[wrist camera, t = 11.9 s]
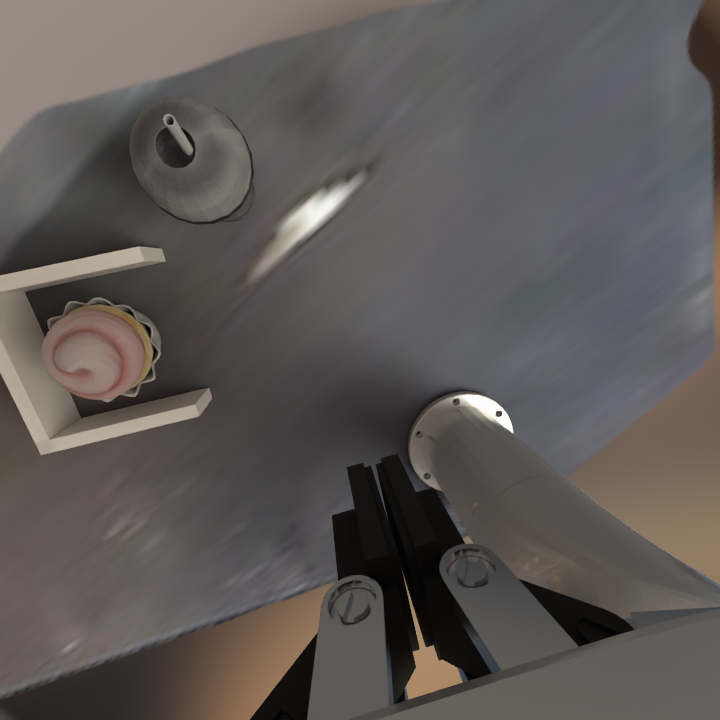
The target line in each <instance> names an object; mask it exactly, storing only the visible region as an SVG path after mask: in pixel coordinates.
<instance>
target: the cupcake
mask: <svg viewBox="0 0 720 720" xmlns="http://www.w3.org/2000/svg"><path fill="white" fill-rule="evenodd" d="M47 325H48V328H49V331H48V333H47V335H46V337H45V339H44V341H43V344H42V348H41V352H42V358H43V363H44V366H45V369H46V371H47V373H48V374H49V375H50V376H51V377H52V378H53V379H54V380H55V381H56V382H58V383H59V384H60V385H61V386H63V387H64V388H65V389H66V390H68V391H69V392H71V393H73V394H75V395H77V396H80V397H84V398H88V399H94V400H103V401H105V402H110V401H112V400H113V399H114V398H116V397H117V396H118V395H124V396H129V397H136V395H137V394H138V392H139V389H140V386H141V384H143V383H147V382H151V381H153V380H155V377H156V375H155V367H154V365H155V363H156V361H157V360H158V359H159V357H160V355H161V352H160V351H161V337H160V333H159V331H158V329H157V327H156V326H155V324H154V323H153V322H152V321H151V319H149V318H148V317H147V316H145V315H144V314H142V313H140V312H138V311H136V310H134V309H132V308H131V307H130V306H127V305H115V304H113V303H111V302H110V301H108V300H106V299H103V298H100V297H99V298H93V299H91V300H90V301H89V302H88V303H86V304H85V303H81V302H77V301H69V302H68V303H67V305H66V306H65V309H64V313H63V315H61V316H57V317H53V318H50V319H48V320H47Z"/></svg>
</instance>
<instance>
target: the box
mask: <svg viewBox="0 0 720 720" xmlns="http://www.w3.org/2000/svg"><path fill="white" fill-rule="evenodd" d="M162 262H166V260H165V257H164V254H163V251H162V249H160V248H150V247H140V246H139V247H134V248H129V249H124V250H119V251H115V252H110V253H105V254H100V255H96V256H91V257H86V258H81V259H77V260H72V261H67V262H62V263H57V264H53V265H48V266H43V267H38V268H34V269H29V270H24V271H19V272H14V273H10V274H5V275H0V373H1V375H2V377H3V379H4V381H5V383H6V385H7V387H8V389H9V391H10V393H11V395H12V397H13V399H14V401H15V403H16V405H17V407H18V409H19V411H20V414H21V416H22V418H23V420H24V422H25V424H26V426H27V428H28V430H29V432H30V434H31V436H32V438H33V440H34V442H35V444H36V446H37V448H38V450H39V452H40V454H41V455H44V454H48V453H52V452H56V451H60V450H64V449H68V448H72V447H77V446H81V445H85V444H89V443H93V442H97V441H101V440H105V439H109V438H113V437H117V436H121V435H125V434H130V433H134V432H138V431H142V430H146V429H150V428H154V427H158V426H162V425H166V424H170V423H174V422H178V421H183V420H187V419H191V418H195V417H199V416H200V415H201V413H202V412H203V411H204V409H205V408H206V406H207V405H208V404H209V402H210V401H211V399H212V395H211V392H210V389H209V388H205V389H200V390H196V391H192V392H188V393H184V394H180V395H175V396H171V397H167V398H163V399H159V400H155V401H150V402H146V403H142V404H138V405H134V406H130V407H125V408H121V409H117V410H113V411H109V412H105V413H100V414H96V415H92V416H88V417H84V418H81V416H80V414H79V412H78V410H77V407H76V405H75V403H74V401H73V398H72V396H71V394H70V392H69V391H68V390H66V389H65V388H64V387H63V386H61V385H60V384H59V383H58V382H56V381H55V380H54V379H53V378H52V377H51V376H50V375H49V374H48V373H47V371H46V369H45V366H44V363H43V358H42V352H41V348H42V344H43V341H44V339H45V336H44V334H43V332H42V329H41V327H40V325H39V323H38V320H37V318H36V316H35V314H34V312H33V309H32V307H31V305H30V303H29V300H28V298H27V296H26V294H25V292H26V291H31V290H35V289H40V288H45V287H49V286H54V285H59V284H63V283H68V282H73V281H77V280H82V279H87V278H91V277H96V276H101V275H105V274H110V273H115V272H119V271H124V270H129V269H134V268H138V267H143V266H148V265H152V264H157V263H162Z"/></svg>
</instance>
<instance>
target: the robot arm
mask: <svg viewBox="0 0 720 720" xmlns="http://www.w3.org/2000/svg"><path fill="white" fill-rule="evenodd" d="M454 399H455V400H454ZM453 400H454V401H453ZM496 411H497V412H496ZM418 431H419V432H418ZM417 432H418V433H417ZM408 454H409V458H410V461H411V464H412V466H413V468H414V470H415V472H416V473H417V475H418V476H419V478H420V479H421V480H422V481H424V482H425V483H426V484H427V485H429V486H430V487H432V488H430V489H427V490H423V491H419V492H415V490H414V487H413V485H412V483H411V481H410V479H409V477H408V475H407V473H406V471H405V468H404V466H403V464H402V462H401V460H400V458H399V456H398V454H395V455H391V456H387V457H384V458H381V461H382V463H379V464H376V468H377V472H378V477H379V481H380V486H381V490H382V494H383V499H384V503H385V508H386V512H387V516H388V519H387V516H386V513H385V509H384V506H383V503H382V500H381V497H380V493H379V490H378V487H377V484H376V481H375V477H374V474H373V471H372V468H371V466H367V467H364V464H363V463H361V464H357V465H353V466H349V467H347V470H348V475H349V481H350V486H351V491H352V496H353V501H354V506H355V509H353V510H350V511H346V512H342V513H339V514H335V515H332V521H333V532H334V542H335V552H336V562H337V573H338V582H336V583H335V584H334V585H333V586H332V587H331V588H330V589H329V590H328V591H327V593H326V594H325V596H324V598H323V601H322V605H321V611H320V619H319V627H318V633H317V634H316V635H315V637H314V638H313V639H312V640H311V642H310V643H309V644H308V646H307V647H306V649H305V650H304V651H303V652H302V653H301V655H300V656H299V657H298V658H297V660H296V661H295V662H294V664H293V665H292V666H291V668H290V669H289V670H288V671H287V673H286V674H285V675H284V677H283V678H282V679H281V681H280V682H279V683H278V684H277V685H276V687H275V688H274V689H273V691H272V692H271V693H270V695H269V696H268V697H267V698H266V700H265V701H264V702H263V703H262V705H261V706H260V707H259V709H258V710H257V711H256V712H255V714H254V715H253V716H252V718H251V719H250V720H720V584H718V583H717V582H715V581H714V580H712V579H710V578H709V577H707V576H705V575H703V574H702V573H700V572H699V571H697V570H696V569H694V568H692V567H691V566H689V565H687V564H686V563H684V562H682V561H681V560H679V559H677V558H676V557H674V556H673V555H671V554H669V553H668V552H666V551H665V550H663V549H661V548H660V547H658V546H657V545H655V544H653V543H652V542H650V541H649V540H648V539H646V538H645V537H643V536H642V535H640V534H639V533H637V532H636V531H634V530H632V529H631V528H630V527H629V526H627V525H626V524H624V523H623V522H622V521H620V520H619V519H618V518H616V517H615V516H614V515H612V514H611V513H610V512H609V511H607V510H606V509H605V508H603V507H602V506H601V505H600V504H598V503H597V502H596V501H594V500H593V499H592V498H591V497H590V496H588V495H587V494H586V493H585V492H583V491H582V490H581V489H580V488H579V487H577V486H576V485H575V484H574V483H572V482H571V481H570V480H569V479H568V478H567V477H565V476H564V475H563V474H562V473H561V472H559V471H558V470H557V469H556V468H554V467H553V466H552V465H551V464H550V463H548V462H547V461H546V460H545V459H544V458H542V457H541V456H540V455H539V454H537V453H536V452H535V451H534V450H533V449H531V448H530V447H529V446H528V445H527V444H525V443H524V442H523V441H522V440H521V439H519V438H518V437H517V436H516V435H514V434H513V427H512V423H511V420H510V418H509V416H508V414H507V413H506V411H505V410H504V409H503V407H502V406H500V405H499V404H498V403H497V402H496V401H494V400H493V399H491V398H490V397H488V396H486V395H483V394H481V393H477V392H471V391H460V392H455V393H450V394H447V395H445V396H442V397H440V398H438V399H437V400H435V401H433V402H432V403H430V404H429V405H428V406H427V407H426V408H425V409H424V410H423V411H422V412H421V413H420V415H419V416H418V417H417V418H416V420H415V422H414V424H413V426H412V428H411V431H410V434H409V439H408ZM434 489H436V490H439V491H443V493H444V495H445V496H446V498H447V500H448V501H449V503H450V505H451V506H452V508H453V510H454V511H455V513H456V515H457V517H458V518H459V520H460V523H461V526H462V527H463V528H465V530H466V532H467V533H468V535H469V537H470V538H471V540H472V542H473V543H474V544H465V542H464V541H463V539H462V537H461V535H460V534H459V532H458V530H457V528H456V526H455V525H454V523H453V521H452V519H451V518H450V516H449V514H448V512H447V510H446V509H445V507H444V505H443V503H442V502H441V500H440V498H439V496H438V494H437V493H436V491H435V490H434ZM388 521H389V522H388ZM402 571H403V573H402ZM403 574H404V577H405V581H406V584H407V587H408V591H409V594H410V597H411V600H412V604H413V607H414V610H415V613H416V617H417V620H418V623H419V626H420V630H421V633H422V636H423V639H424V642H425V645H426V647H429V646H432V645H434V647H435V650H436V653H437V656H438V659H439V660H442V659H443V660H445V661H446V662H448V663H450V664H452V665H454V666H456V667H457V668H458V670H459V674H460V676H461V679H462V681H463V683H460V684H457V685H454V686H451V687H448V688H445V689H441V690H438V691H435V692H432V693H428V694H425V695H422V696H419V697H416V698H413V699H410V700H408V695H407V691H406V685H407V683H408V681H409V679H410V677H411V675H412V674H413V672H414V670H415V668H416V665H415V661H414V657H413V652H412V651H416V650H419V644H418V640H417V635H416V631H415V627H414V622H413V617H412V613H411V609H410V604H409V599H408V595H407V590H406V586H405V582H404V577H403Z"/></svg>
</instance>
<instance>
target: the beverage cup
mask: <svg viewBox="0 0 720 720" xmlns="http://www.w3.org/2000/svg"><path fill="white" fill-rule="evenodd" d="M129 150H130V156H131V161H132V166H133V170H134V172H135V174H136V176H137V178H138V180H139V182H140V184H141V186H142V188H143V189H144V190H145V191H146V193H147V194H148V195H149V196H150V197H151V199H152V200H153V201H154V202H155V203H156V204H157V205H158V206H159V207H160V208H161V209H162V210H163V211H165V212H166V213H168V214H170V215H171V216H173V217H174V218H176V219H178V220H181V221H185V222H189V223H192V224H214V223H216V222H219V221H225V222H229V221H238V220H241V219H243V218H245V217H246V216H247V215H248V214H250V212H251V210H252V209H253V207H254V202H255V191H254V185H253V181H252V180H253V175H254V170H253V161H252V154H251V151H250V149H249V147H248V144H247V142H246V139H245V137H244V135H243V134H242V133H241V131H240V130H239V129H238V128H237V126H236V125H235V124H234V123H233V121H232V120H231V119H229V118H228V117H227V116H225V115H224V114H222V113H221V112H220V111H218V110H217V109H215V108H214V107H212V106H211V105H209V104H207V103H204V102H201V101H198V100H195V99H192V98H189V97H167V98H165V99H162V100H159V101H157V102H154V103H152V104H150V105H149V106H148V107H147V108H146V109H145V110H144V111H143V112H142V113H141V114H139V116H138V118H137V120H136V122H135V124H134V126H133V128H132V130H131V137H130V145H129Z"/></svg>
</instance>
